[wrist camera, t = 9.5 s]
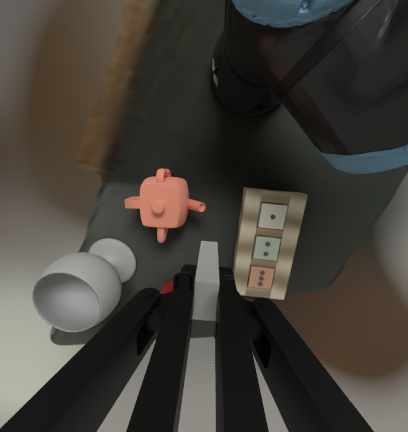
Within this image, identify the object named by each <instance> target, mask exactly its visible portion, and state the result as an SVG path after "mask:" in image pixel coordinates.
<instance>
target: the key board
mask: <svg viewBox="0 0 408 432" xmlns="http://www.w3.org/2000/svg"><path fill="white" fill-rule="evenodd" d="M307 196H308V195H307V194H303V193H298V192H287V191H277V190H266V189H256V188H245V187H244V190H243V197H242V204H241V212H240V219H239V226H238V233H237V240H236V247H235V254H234V261H233V268H232V271H233V273H234V278H235V283H236V288H237V291H238V292H239V294H240V295H244V296H254V297H263V298H272V299H281V300H284V297H285V293H286V288H287V284H288V280H289V275H290V271H291V266H292V262H293V258H294V253H295V249H296V245H297V240H298V236H299V231H300V227H301V223H302V218H303V214H304V209H305V205H306V201H307ZM261 202H271V203H281V204H285V205H287V206H288V207H287V212H286V217H285V222H284V227H283V230H280V229H270V228H260V227H258V226H257V221H258V215H259V209H260V203H261ZM255 235H265V236H275V237H280V238H281V241H280V246H279V251H278V256H277V261H273V260H264V259H254V258H253V257H252V251H253V245H254V239H255ZM250 265H257V266H267V267H274V269H275V271H274V276H273V281H272V285H271V289H263V288H254V287H248V284H247V281H248V275H249V269H250Z"/></svg>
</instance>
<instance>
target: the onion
mask: <svg viewBox="0 0 408 432" xmlns="http://www.w3.org/2000/svg"><path fill="white" fill-rule="evenodd" d="M171 291H173V280H172V281H169V282H167V283H166V284H164V285H163V287H162V289H161V291H160V294H163V293H168V292H171Z"/></svg>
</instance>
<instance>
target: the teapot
mask: <svg viewBox="0 0 408 432" xmlns="http://www.w3.org/2000/svg"><path fill="white" fill-rule="evenodd" d="M170 176H171V173H170V170H168V169H158V171H157V174H156V176H155V177H149V178H147V179H145V180H144V182H143V183H142V185H141V188H140V197H130V198H128V199H126V200H125V208H136V209H140V214H141V220H142V224H143V225H144V226H148V227H157V239H158V242H160V243H163V242H164V241H165V239H166V236H167V232H168V228H177V227H180V226H182V225H183V224H184V223H185V221H186V219H187V215H188V209H191V210H195V211H199V212H203V211H204V210H205V207H206V206H205V204H204V203H202V202H199V201H195V200H192V199H189V192H188V185H187V182H186V180H185V179H183V178H177V177H170Z"/></svg>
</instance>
